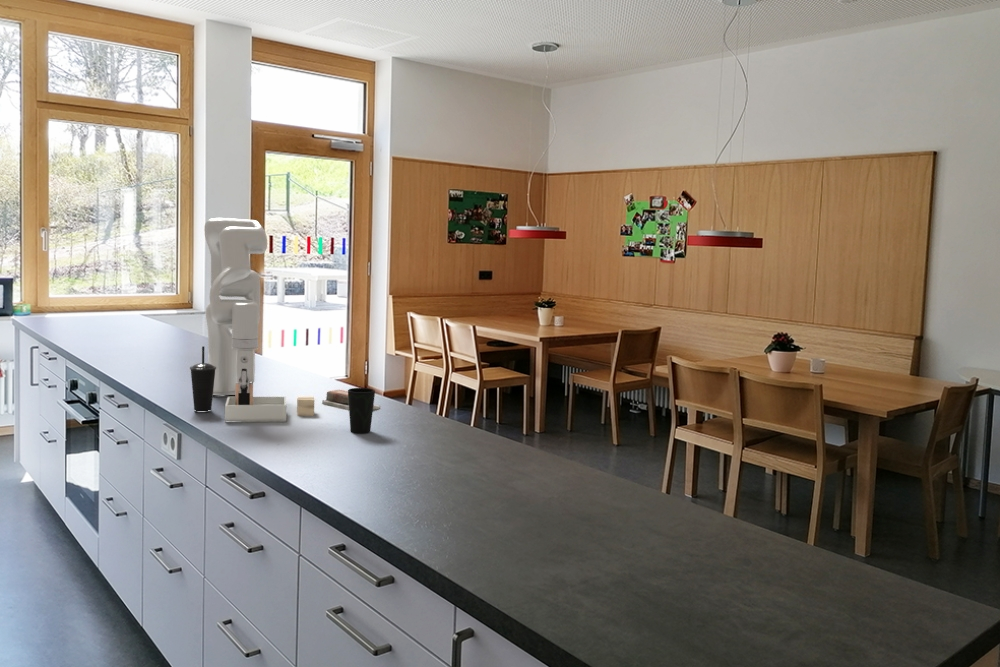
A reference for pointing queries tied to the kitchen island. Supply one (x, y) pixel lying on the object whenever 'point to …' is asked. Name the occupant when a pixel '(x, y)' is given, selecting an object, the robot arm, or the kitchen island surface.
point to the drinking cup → (202, 384)
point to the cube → (305, 406)
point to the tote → (257, 410)
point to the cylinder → (249, 392)
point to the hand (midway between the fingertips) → (244, 403)
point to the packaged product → (340, 399)
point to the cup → (360, 409)
